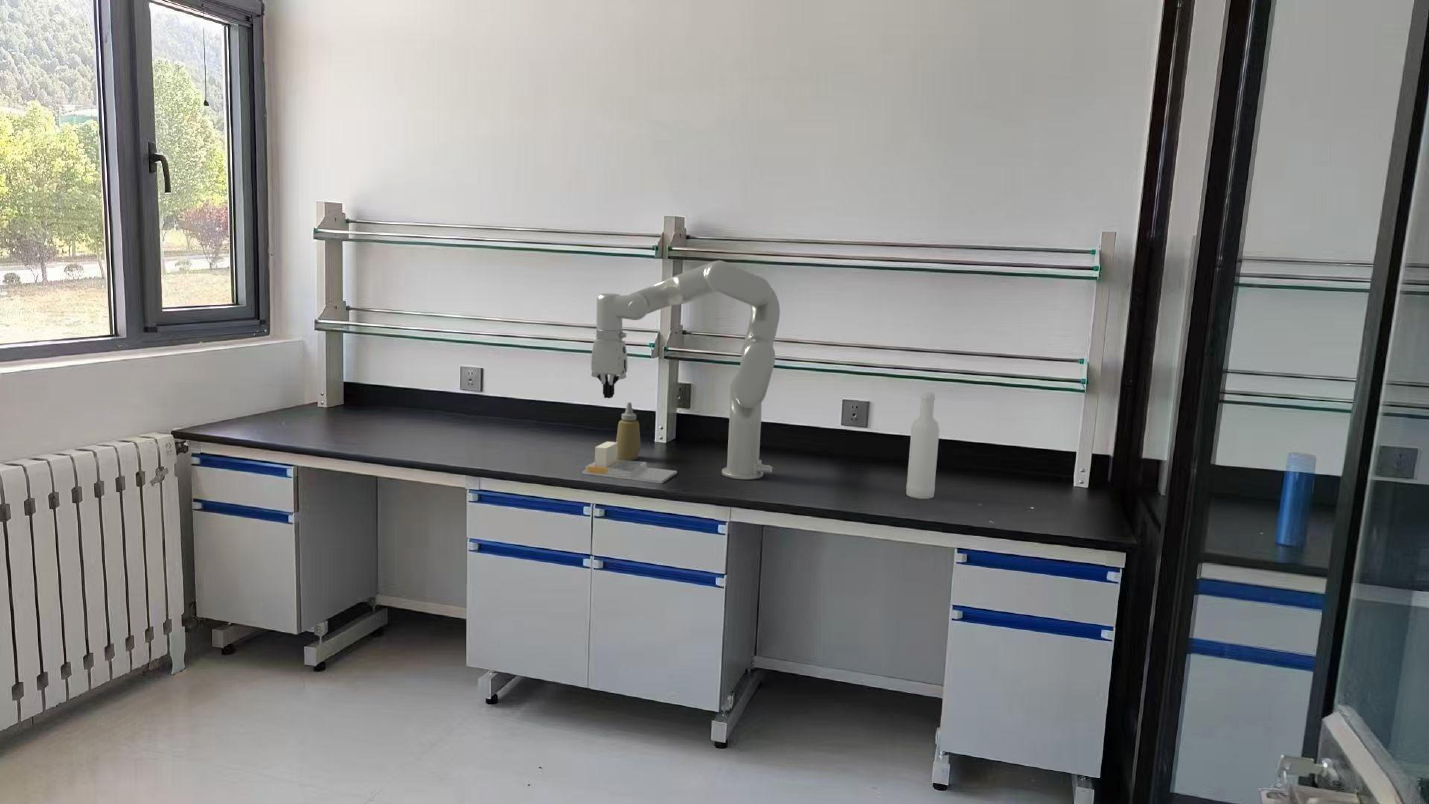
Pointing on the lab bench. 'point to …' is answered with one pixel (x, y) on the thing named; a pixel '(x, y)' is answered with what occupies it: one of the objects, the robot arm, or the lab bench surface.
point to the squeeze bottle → (628, 435)
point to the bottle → (923, 451)
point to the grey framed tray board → (631, 471)
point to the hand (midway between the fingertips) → (608, 397)
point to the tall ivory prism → (606, 454)
